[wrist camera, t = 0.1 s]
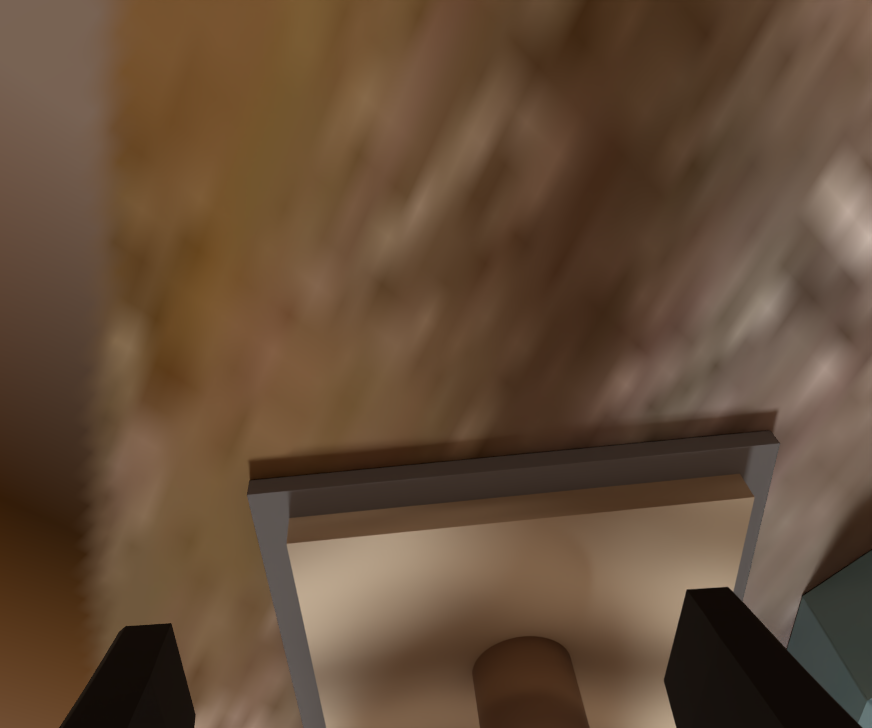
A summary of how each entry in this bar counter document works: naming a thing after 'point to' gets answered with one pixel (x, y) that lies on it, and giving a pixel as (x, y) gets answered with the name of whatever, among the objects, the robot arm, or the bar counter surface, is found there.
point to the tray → (484, 481)
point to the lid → (512, 603)
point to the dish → (839, 638)
